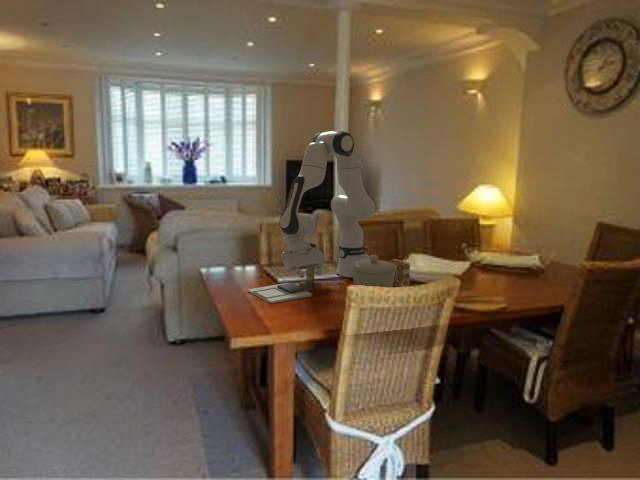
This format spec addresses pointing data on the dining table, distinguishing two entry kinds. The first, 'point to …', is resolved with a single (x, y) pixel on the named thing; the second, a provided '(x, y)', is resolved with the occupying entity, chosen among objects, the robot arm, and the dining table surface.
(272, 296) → the stamp board
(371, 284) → the canister
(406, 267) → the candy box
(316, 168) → the robot arm
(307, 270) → the stamp
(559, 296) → the dining table surface
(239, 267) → the dining table surface
